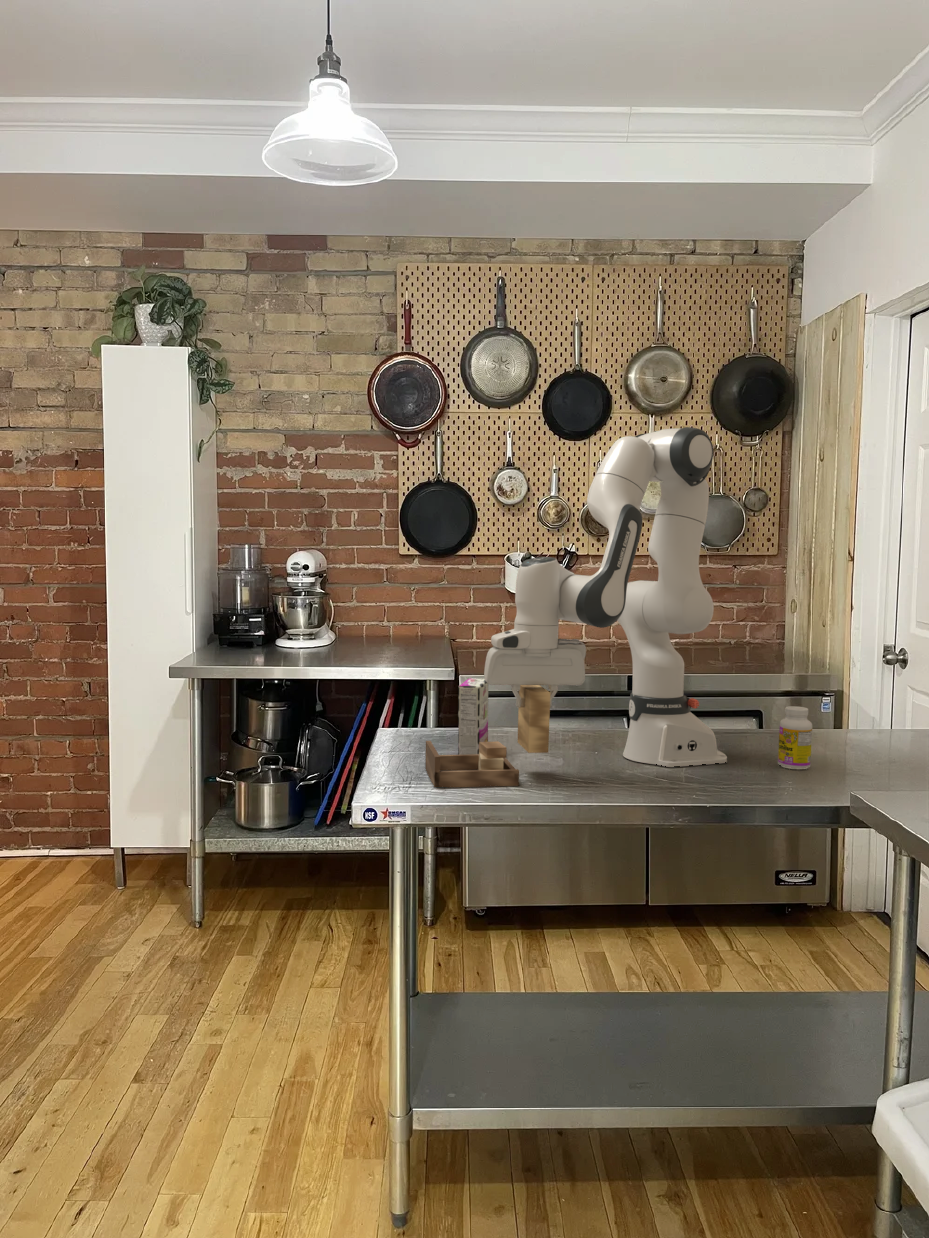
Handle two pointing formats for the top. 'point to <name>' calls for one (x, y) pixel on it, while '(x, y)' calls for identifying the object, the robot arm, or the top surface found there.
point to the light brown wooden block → (534, 719)
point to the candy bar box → (472, 715)
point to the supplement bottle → (795, 738)
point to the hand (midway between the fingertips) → (533, 707)
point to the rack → (466, 771)
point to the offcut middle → (490, 763)
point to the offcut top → (492, 749)
